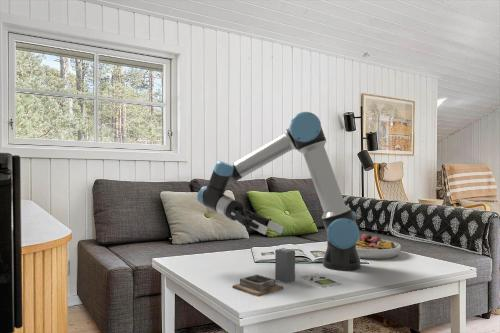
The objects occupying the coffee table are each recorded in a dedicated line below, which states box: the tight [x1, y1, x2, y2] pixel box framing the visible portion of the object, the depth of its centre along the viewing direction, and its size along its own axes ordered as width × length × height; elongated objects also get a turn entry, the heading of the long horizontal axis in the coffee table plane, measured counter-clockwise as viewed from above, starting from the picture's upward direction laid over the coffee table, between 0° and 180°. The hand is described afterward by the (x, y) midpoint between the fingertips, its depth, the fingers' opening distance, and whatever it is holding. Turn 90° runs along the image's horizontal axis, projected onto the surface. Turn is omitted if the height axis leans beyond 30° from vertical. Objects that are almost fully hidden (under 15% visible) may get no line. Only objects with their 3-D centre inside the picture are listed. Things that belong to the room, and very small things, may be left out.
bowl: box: [356, 233, 402, 260], centre depth 193 cm, size 30×30×8 cm
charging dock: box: [232, 274, 283, 297], centre depth 136 cm, size 12×12×3 cm
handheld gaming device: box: [299, 273, 342, 288], centre depth 146 cm, size 9×1×15 cm
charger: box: [274, 247, 296, 284], centre depth 146 cm, size 4×6×11 cm
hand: (274, 231), depth 149 cm, fingers open, 13 cm apart
